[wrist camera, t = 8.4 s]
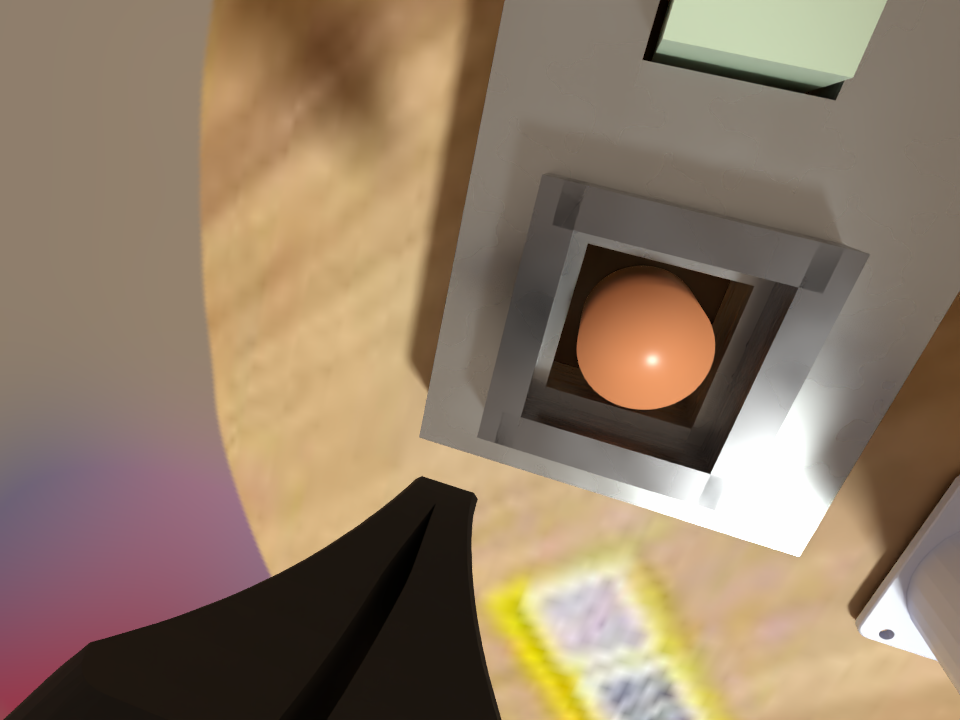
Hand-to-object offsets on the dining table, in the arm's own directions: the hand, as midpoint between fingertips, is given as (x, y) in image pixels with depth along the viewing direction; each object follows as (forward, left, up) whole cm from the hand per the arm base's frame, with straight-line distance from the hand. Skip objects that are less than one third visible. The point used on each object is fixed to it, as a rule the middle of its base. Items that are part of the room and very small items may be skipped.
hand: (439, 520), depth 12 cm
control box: (-5, -8, -10) cm, 14 cm away
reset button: (-4, -3, -9) cm, 11 cm away
